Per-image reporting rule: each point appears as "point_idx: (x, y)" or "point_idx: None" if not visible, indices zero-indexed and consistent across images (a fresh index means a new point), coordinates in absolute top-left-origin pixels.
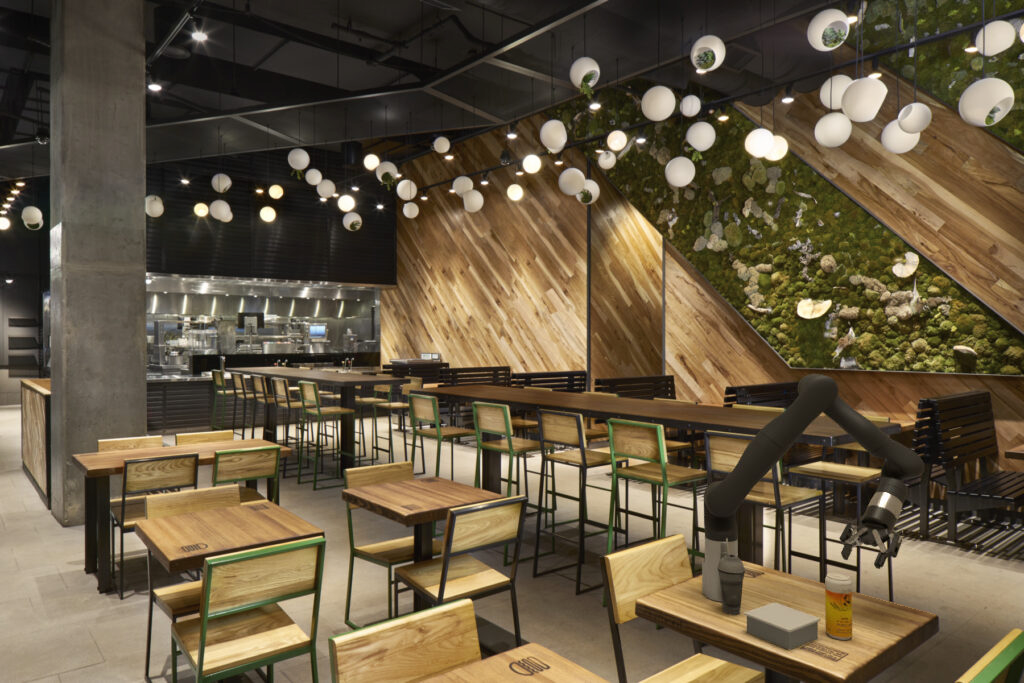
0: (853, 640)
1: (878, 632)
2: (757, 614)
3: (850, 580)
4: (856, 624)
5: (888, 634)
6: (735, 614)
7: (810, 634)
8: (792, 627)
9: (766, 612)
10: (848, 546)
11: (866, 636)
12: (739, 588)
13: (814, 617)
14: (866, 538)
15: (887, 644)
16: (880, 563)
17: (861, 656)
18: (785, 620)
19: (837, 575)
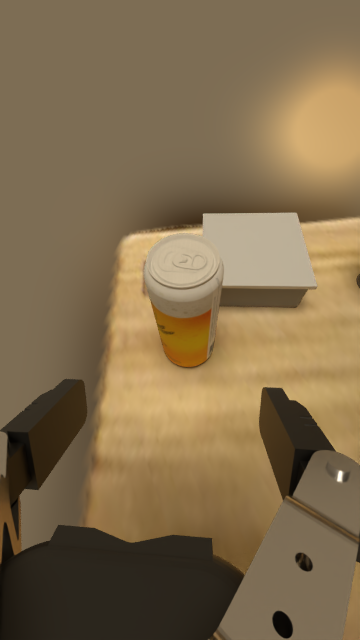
0: (160, 348)
1: (141, 437)
2: (279, 222)
3: (147, 273)
4: (198, 443)
5: (120, 446)
6: (357, 278)
7: None
8: (207, 223)
9: (278, 237)
10: (288, 436)
11: (151, 389)
12: None
13: None
14: (146, 571)
15: (106, 384)
16: (45, 393)
17: (124, 301)
18: (233, 235)
19: (191, 266)
